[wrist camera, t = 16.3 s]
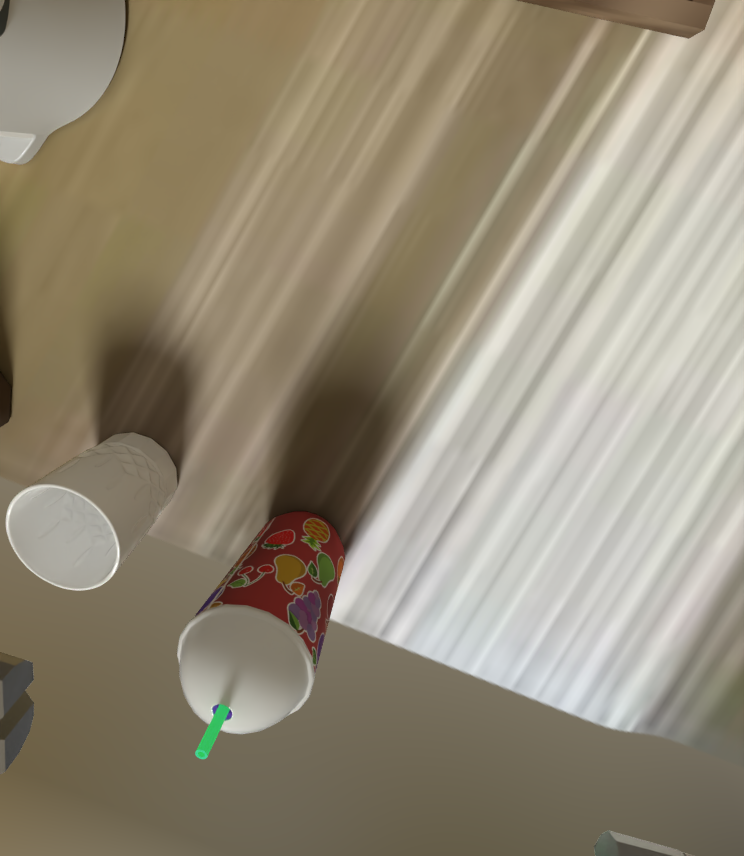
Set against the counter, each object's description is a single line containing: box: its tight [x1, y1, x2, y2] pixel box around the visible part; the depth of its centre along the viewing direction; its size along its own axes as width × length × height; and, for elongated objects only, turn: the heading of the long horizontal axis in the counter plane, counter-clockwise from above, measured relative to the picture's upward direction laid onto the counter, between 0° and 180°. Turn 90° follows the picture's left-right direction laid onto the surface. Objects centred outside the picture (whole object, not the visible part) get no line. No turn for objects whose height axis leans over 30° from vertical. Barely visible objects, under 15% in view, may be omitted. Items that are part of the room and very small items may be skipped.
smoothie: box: [177, 511, 345, 759], centre depth 43 cm, size 8×8×20 cm
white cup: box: [6, 432, 178, 590], centre depth 48 cm, size 8×8×10 cm
